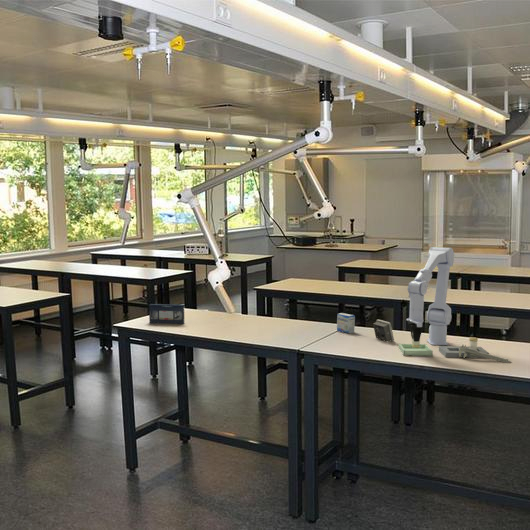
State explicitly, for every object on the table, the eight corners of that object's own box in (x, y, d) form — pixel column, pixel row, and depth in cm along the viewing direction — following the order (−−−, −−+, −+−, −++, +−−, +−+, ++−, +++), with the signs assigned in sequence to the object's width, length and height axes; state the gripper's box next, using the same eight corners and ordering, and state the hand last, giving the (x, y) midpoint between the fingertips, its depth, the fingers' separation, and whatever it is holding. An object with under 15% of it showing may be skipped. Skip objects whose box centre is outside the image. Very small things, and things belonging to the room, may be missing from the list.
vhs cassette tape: (149, 323, 316) (148, 304, 315) (150, 322, 319) (150, 303, 318) (183, 324, 314) (183, 305, 313) (184, 323, 317) (184, 304, 316)
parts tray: (398, 348, 266) (398, 343, 266) (425, 349, 266) (426, 344, 265) (403, 355, 254) (403, 350, 254) (432, 356, 254) (432, 351, 253)
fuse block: (438, 350, 263) (438, 346, 263) (480, 351, 262) (480, 346, 262) (445, 357, 252) (445, 352, 252) (489, 357, 251) (489, 353, 251)
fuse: (467, 353, 259) (468, 337, 258) (475, 353, 259) (476, 337, 258) (470, 355, 255) (470, 339, 255) (478, 355, 255) (478, 339, 255)
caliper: (458, 358, 251) (459, 344, 250) (458, 358, 252) (459, 343, 251) (511, 363, 244) (512, 348, 244) (511, 362, 245) (512, 347, 245)
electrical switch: (394, 341, 279) (393, 322, 278) (385, 343, 277) (384, 324, 276) (381, 337, 288) (380, 318, 286) (372, 339, 285) (371, 320, 284)
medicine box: (336, 330, 301) (336, 313, 300) (342, 329, 304) (342, 312, 303) (348, 333, 295) (349, 316, 294) (354, 332, 298) (355, 314, 297)
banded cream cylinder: (411, 345, 261) (411, 329, 261) (419, 345, 261) (419, 330, 260) (412, 347, 258) (412, 331, 257) (420, 347, 258) (421, 331, 257)
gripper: (403, 305, 265) (402, 336, 267) (410, 312, 251) (409, 344, 252) (420, 306, 265) (418, 336, 266) (427, 312, 250) (426, 344, 252)
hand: (415, 340), depth 259 cm, fingers closed on banded cream cylinder, 3 cm apart
